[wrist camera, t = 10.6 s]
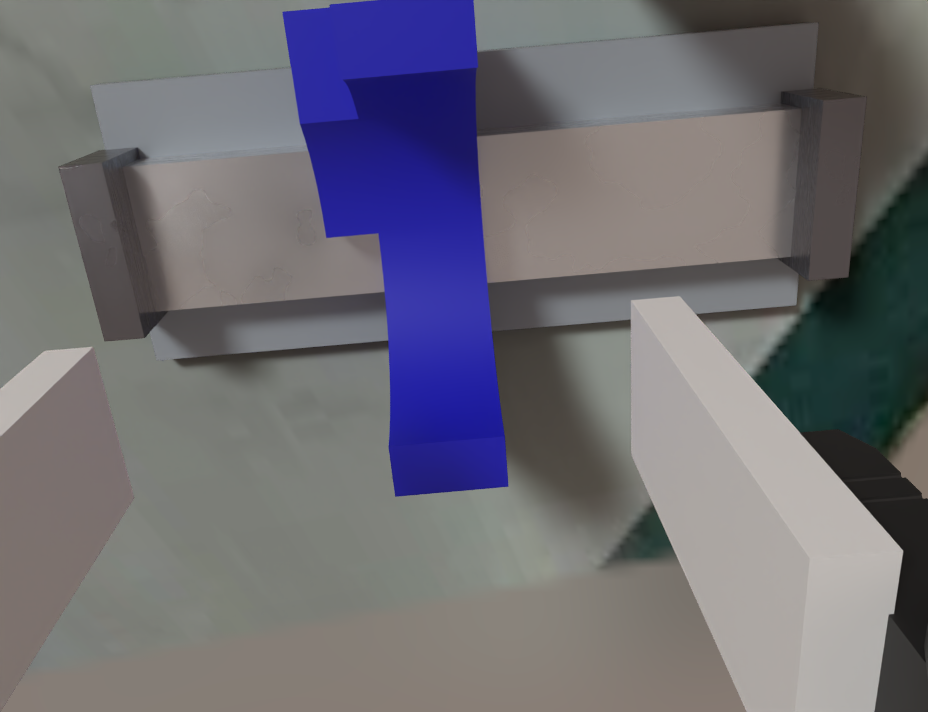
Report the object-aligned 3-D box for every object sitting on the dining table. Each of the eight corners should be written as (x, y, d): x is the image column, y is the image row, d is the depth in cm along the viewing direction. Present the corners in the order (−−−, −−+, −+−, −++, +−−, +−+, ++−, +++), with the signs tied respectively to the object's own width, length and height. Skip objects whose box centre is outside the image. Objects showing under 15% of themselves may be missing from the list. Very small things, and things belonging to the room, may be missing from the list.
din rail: (138, 308, 27) (104, 341, 25) (99, 150, 26) (58, 166, 23) (806, 250, 27) (848, 277, 25) (819, 88, 26) (866, 96, 23)
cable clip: (301, 12, 23) (258, 11, 17) (463, -3, 23) (473, -9, 17) (358, 403, 27) (338, 501, 22) (493, 390, 27) (508, 486, 22)
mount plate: (163, 351, 29) (156, 360, 28) (99, 83, 26) (90, 85, 25) (787, 297, 29) (796, 305, 28) (807, 22, 26) (818, 22, 25)
